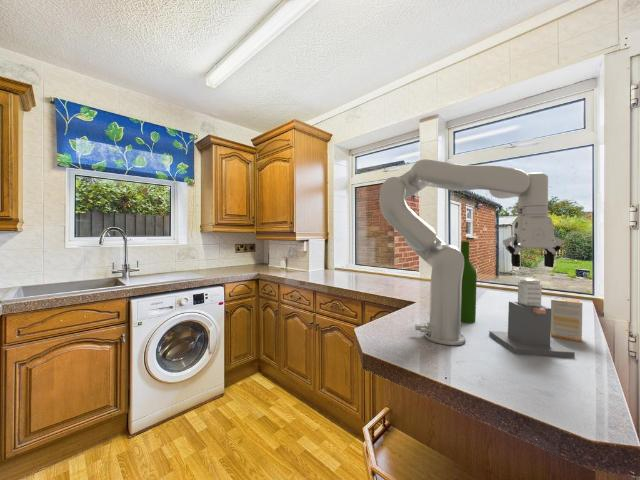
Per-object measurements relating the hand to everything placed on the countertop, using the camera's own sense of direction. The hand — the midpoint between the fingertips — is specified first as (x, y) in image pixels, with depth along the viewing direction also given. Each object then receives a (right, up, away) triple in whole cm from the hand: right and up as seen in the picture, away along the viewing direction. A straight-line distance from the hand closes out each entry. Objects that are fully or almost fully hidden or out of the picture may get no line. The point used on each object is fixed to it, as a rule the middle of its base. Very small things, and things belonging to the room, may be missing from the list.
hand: (532, 266), depth 91 cm
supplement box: (+18, -26, +9) cm, 32 cm away
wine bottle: (-8, -25, +27) cm, 38 cm away
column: (-1, -23, +1) cm, 24 cm away
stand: (-1, -25, +1) cm, 25 cm away
